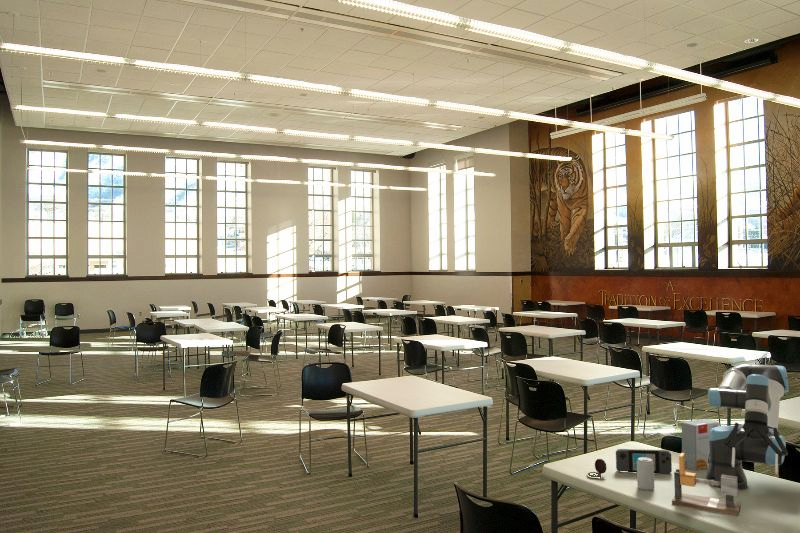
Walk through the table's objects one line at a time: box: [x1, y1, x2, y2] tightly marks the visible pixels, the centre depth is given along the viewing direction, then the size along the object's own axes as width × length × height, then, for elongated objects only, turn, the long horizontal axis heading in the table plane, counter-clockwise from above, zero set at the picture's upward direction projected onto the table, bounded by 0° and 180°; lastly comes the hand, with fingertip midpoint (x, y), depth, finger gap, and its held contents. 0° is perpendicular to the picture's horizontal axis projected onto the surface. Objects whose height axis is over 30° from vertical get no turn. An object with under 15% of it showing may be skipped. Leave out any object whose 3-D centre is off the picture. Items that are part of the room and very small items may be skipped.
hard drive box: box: [681, 418, 720, 471], centre depth 272 cm, size 16×8×20 cm, turn 114°
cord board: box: [671, 468, 741, 517], centre depth 226 cm, size 10×22×12 cm, turn 56°
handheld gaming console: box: [615, 448, 673, 475], centre depth 265 cm, size 23×3×10 cm, turn 80°
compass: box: [587, 458, 607, 480], centre depth 261 cm, size 8×8×7 cm
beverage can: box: [636, 457, 655, 492], centre depth 246 cm, size 6×6×12 cm
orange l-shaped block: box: [678, 452, 697, 488], centre depth 230 cm, size 5×5×11 cm
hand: (754, 469), depth 218 cm, fingers open, 13 cm apart
